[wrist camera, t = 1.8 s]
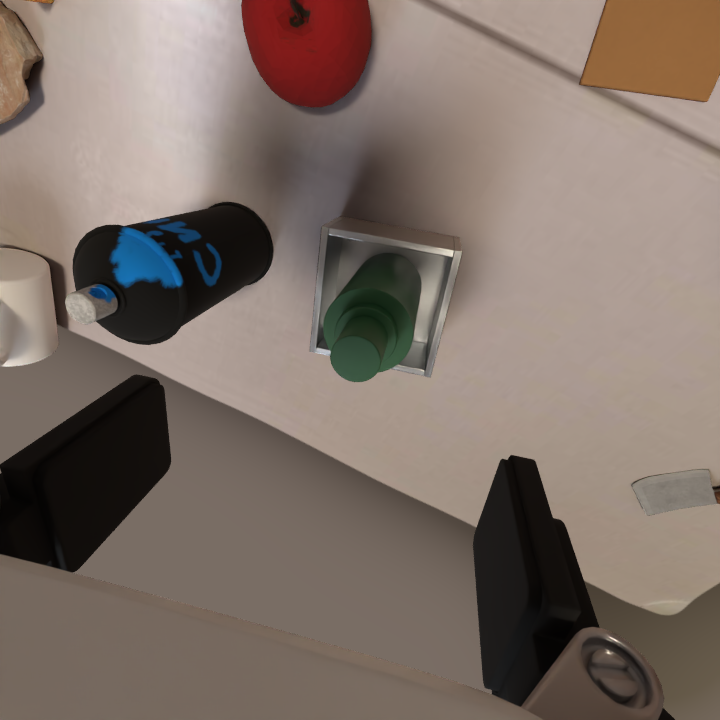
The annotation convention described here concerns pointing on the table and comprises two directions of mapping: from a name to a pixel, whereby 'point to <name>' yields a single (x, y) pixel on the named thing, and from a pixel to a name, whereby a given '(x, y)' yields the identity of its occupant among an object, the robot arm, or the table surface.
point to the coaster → (657, 48)
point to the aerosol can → (166, 270)
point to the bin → (423, 249)
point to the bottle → (373, 317)
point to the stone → (14, 64)
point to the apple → (308, 46)
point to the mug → (26, 309)
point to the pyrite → (43, 0)
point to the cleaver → (676, 491)
